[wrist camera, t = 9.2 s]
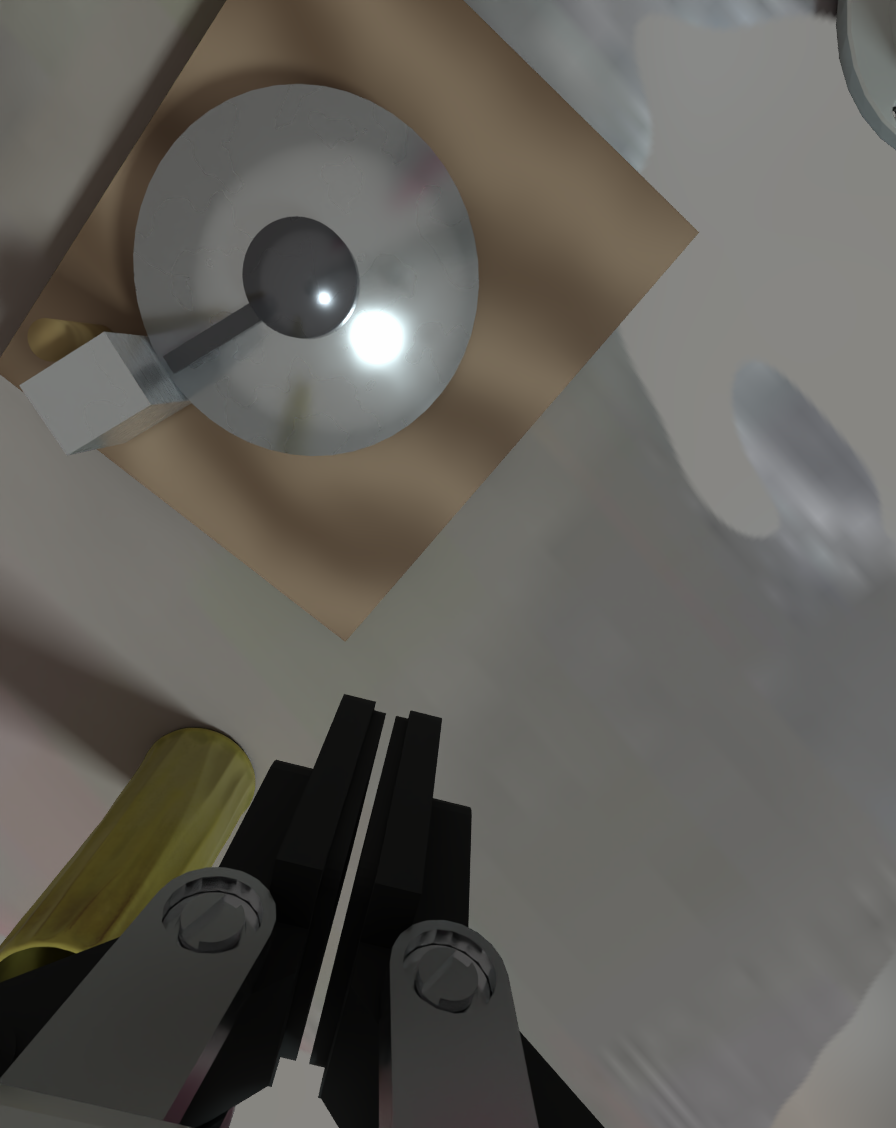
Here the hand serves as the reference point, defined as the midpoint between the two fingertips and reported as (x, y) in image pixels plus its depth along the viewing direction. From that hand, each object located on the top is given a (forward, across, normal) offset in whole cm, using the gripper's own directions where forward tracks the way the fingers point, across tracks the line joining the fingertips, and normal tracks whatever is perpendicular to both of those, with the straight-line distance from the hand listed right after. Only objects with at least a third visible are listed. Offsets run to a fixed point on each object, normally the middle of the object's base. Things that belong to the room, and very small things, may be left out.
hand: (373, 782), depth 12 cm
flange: (+22, +9, -6) cm, 24 cm away
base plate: (+24, +7, -7) cm, 26 cm away
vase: (+23, +9, +18) cm, 31 cm away
